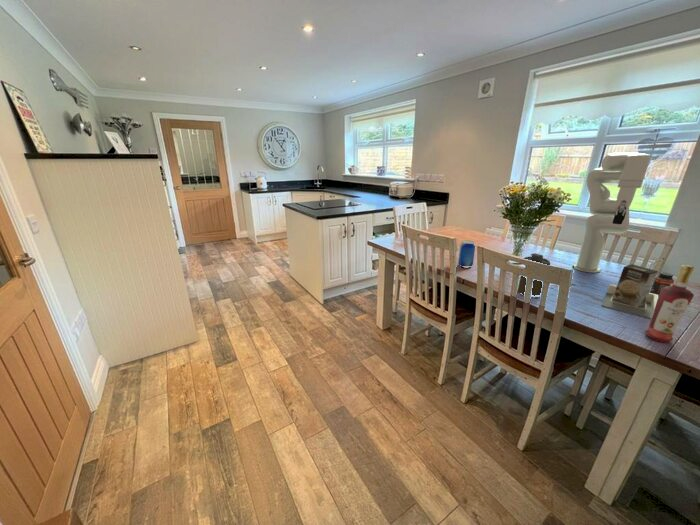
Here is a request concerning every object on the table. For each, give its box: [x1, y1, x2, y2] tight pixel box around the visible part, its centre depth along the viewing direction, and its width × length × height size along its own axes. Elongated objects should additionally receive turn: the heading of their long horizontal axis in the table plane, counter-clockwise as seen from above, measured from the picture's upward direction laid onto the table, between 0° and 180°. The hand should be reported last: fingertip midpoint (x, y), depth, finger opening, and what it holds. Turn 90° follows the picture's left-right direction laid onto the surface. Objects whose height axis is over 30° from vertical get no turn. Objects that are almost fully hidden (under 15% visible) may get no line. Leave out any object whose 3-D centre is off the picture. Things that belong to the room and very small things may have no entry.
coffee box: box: [613, 263, 659, 307], centre depth 120 cm, size 9×6×16 cm
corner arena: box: [601, 284, 658, 320], centre depth 121 cm, size 18×16×4 cm
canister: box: [517, 253, 551, 296], centre depth 131 cm, size 11×10×20 cm
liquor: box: [644, 264, 695, 343], centre depth 94 cm, size 7×7×28 cm
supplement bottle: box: [649, 271, 675, 297], centre depth 126 cm, size 6×6×11 cm
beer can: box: [457, 239, 476, 267], centre depth 167 cm, size 8×8×16 cm
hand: (617, 222), depth 127 cm, fingers open, 9 cm apart
